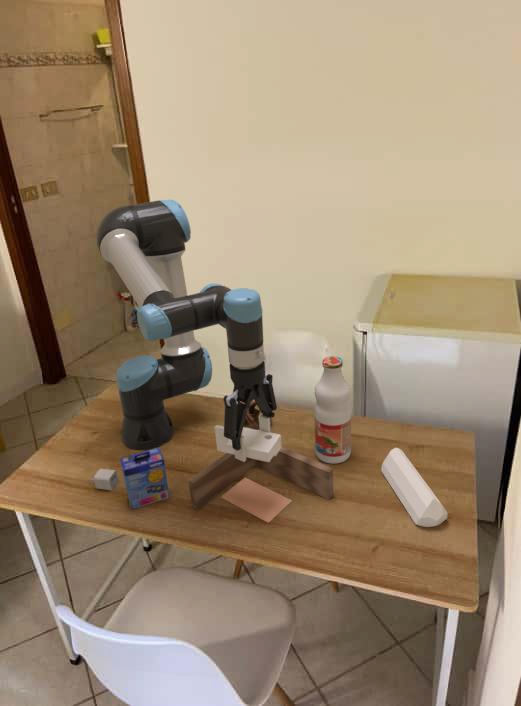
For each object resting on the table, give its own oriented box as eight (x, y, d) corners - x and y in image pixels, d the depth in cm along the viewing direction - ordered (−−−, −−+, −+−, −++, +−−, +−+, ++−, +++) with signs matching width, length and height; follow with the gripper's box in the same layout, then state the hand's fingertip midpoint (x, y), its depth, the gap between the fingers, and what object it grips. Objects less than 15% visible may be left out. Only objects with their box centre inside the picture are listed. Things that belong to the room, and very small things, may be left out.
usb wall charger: (111, 491, 139) (108, 479, 138) (87, 488, 141) (84, 476, 139) (119, 481, 143) (116, 469, 141) (95, 478, 145) (92, 466, 143)
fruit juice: (357, 459, 145) (358, 364, 133) (324, 468, 142) (323, 372, 130) (340, 440, 153) (340, 349, 141) (309, 448, 151) (307, 356, 138)
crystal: (371, 456, 140) (413, 521, 118) (395, 440, 139) (441, 503, 118) (384, 474, 143) (427, 540, 122) (407, 459, 142) (454, 523, 121)
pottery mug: (268, 413, 169) (274, 399, 163) (267, 441, 163) (273, 427, 157) (229, 408, 167) (233, 393, 161) (227, 435, 162) (231, 421, 155)
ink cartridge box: (131, 511, 132) (121, 462, 126) (127, 497, 137) (116, 449, 131) (171, 498, 136) (163, 449, 129) (165, 485, 140) (157, 438, 134)
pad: (220, 497, 135) (220, 496, 135) (245, 478, 141) (245, 477, 141) (268, 523, 126) (268, 522, 126) (292, 501, 132) (292, 500, 132)
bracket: (217, 454, 127) (214, 426, 124) (231, 436, 133) (228, 410, 130) (269, 465, 122) (267, 437, 119) (281, 447, 128) (279, 420, 125)
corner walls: (192, 507, 132) (188, 480, 129) (254, 459, 148) (252, 434, 144) (273, 554, 117) (271, 525, 114) (333, 495, 133) (333, 468, 129)
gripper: (226, 387, 108) (234, 479, 118) (290, 347, 122) (293, 433, 132) (199, 377, 112) (209, 466, 122) (264, 339, 126) (269, 423, 136)
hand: (253, 449), depth 127 cm, fingers closed on bracket, 8 cm apart
